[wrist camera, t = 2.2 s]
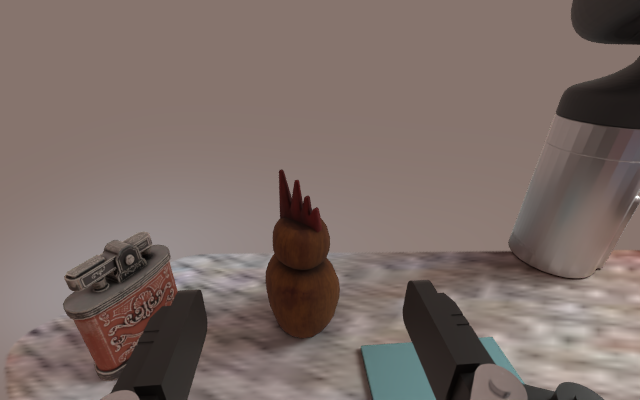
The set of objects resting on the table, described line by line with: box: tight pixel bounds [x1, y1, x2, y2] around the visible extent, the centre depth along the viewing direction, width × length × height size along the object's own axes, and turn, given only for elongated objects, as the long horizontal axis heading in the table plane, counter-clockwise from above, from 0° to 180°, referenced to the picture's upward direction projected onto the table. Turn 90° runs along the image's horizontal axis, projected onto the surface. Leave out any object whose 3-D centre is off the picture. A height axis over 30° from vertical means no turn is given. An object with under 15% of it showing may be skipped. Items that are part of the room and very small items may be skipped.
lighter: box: [63, 232, 177, 381], centre depth 25 cm, size 8×3×10 cm, turn 158°
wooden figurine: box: [266, 170, 340, 338], centre depth 26 cm, size 7×6×15 cm
